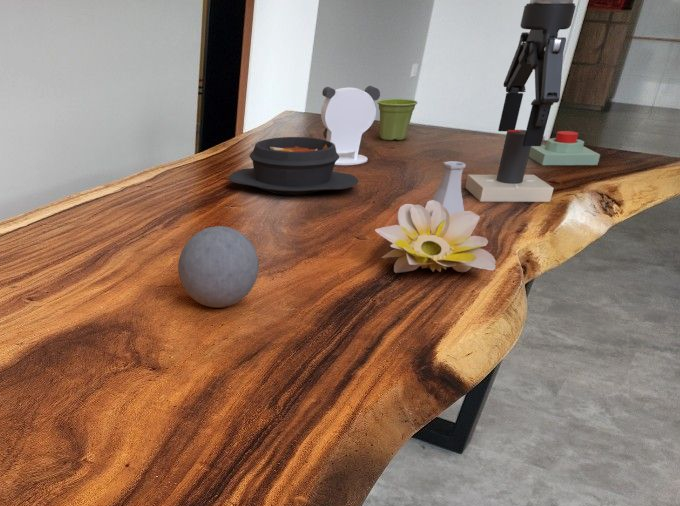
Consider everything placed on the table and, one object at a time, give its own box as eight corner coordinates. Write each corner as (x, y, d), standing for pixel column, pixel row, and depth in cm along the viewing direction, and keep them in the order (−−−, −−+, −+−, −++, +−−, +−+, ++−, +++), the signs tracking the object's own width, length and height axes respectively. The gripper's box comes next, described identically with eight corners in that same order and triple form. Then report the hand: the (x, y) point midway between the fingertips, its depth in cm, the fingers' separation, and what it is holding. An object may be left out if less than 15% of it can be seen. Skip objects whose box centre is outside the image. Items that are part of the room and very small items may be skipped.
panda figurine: (361, 153, 167) (370, 83, 159) (377, 164, 157) (387, 89, 149) (310, 155, 166) (316, 84, 159) (322, 165, 157) (330, 91, 149)
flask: (451, 218, 121) (463, 157, 116) (475, 230, 115) (489, 166, 110) (411, 221, 120) (421, 159, 115) (433, 234, 114) (445, 169, 109)
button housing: (578, 155, 159) (583, 136, 157) (597, 165, 151) (603, 145, 148) (525, 155, 160) (530, 136, 158) (542, 165, 152) (547, 145, 150)
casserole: (361, 180, 145) (366, 137, 140) (351, 205, 130) (358, 157, 125) (239, 174, 152) (241, 132, 148) (217, 196, 137) (218, 150, 133)
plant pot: (365, 139, 181) (370, 102, 176) (385, 133, 186) (390, 97, 182) (399, 143, 175) (404, 105, 170) (418, 137, 180) (424, 100, 176)
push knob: (571, 140, 155) (574, 130, 154) (578, 144, 152) (581, 134, 151) (551, 141, 156) (554, 131, 154) (558, 144, 152) (561, 134, 151)
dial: (518, 177, 133) (529, 127, 129) (526, 183, 130) (538, 132, 125) (493, 177, 134) (504, 128, 129) (500, 183, 130) (512, 132, 126)
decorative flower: (382, 277, 94) (395, 197, 91) (361, 267, 105) (372, 196, 102) (498, 284, 93) (515, 205, 90) (465, 274, 104) (479, 203, 101)
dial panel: (530, 187, 137) (534, 173, 135) (550, 202, 128) (554, 186, 127) (465, 187, 138) (467, 173, 137) (480, 201, 129) (483, 186, 128)
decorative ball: (182, 322, 88) (182, 242, 83) (174, 291, 96) (174, 217, 91) (263, 318, 88) (268, 238, 83) (248, 288, 97) (252, 214, 91)
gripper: (502, -1, 128) (476, 125, 139) (555, 4, 107) (519, 152, 118) (547, -1, 127) (517, 125, 138) (609, 3, 106) (567, 152, 117)
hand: (518, 138), depth 128 cm, fingers open, 13 cm apart
